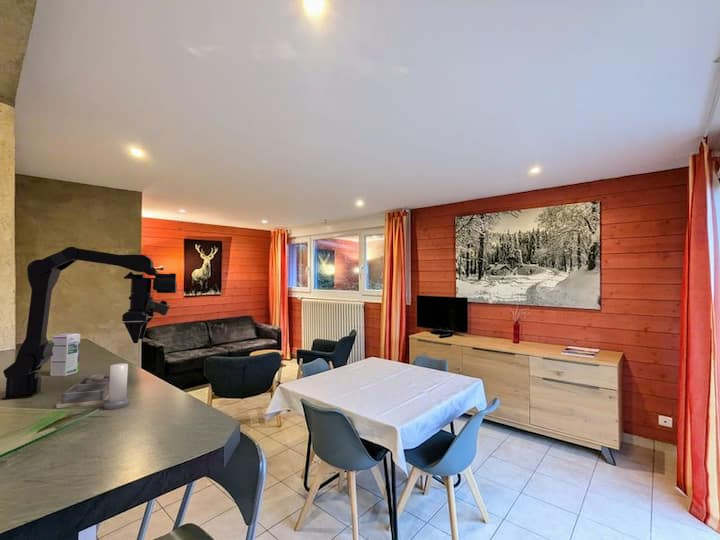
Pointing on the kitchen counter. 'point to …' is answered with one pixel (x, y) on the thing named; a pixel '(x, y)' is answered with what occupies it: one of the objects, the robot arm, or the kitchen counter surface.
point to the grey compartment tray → (86, 392)
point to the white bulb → (117, 387)
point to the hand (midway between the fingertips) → (138, 341)
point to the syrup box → (65, 354)
